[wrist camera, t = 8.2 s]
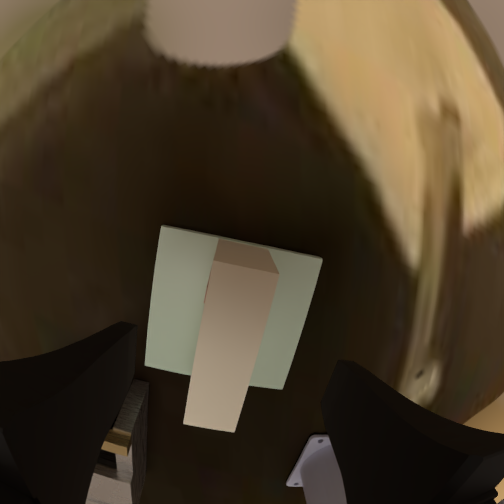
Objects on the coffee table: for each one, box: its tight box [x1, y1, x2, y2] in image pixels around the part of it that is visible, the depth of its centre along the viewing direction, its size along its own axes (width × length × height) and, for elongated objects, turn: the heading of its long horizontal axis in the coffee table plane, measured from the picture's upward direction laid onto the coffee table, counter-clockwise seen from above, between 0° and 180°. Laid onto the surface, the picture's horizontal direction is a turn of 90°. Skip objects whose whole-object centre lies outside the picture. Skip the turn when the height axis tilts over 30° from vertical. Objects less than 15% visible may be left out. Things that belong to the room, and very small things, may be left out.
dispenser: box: [86, 379, 149, 504], centre depth 19 cm, size 7×12×7 cm, turn 167°
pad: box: [145, 225, 323, 389], centre depth 20 cm, size 10×10×1 cm
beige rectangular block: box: [183, 239, 280, 432], centre depth 18 cm, size 3×10×5 cm, turn 167°
